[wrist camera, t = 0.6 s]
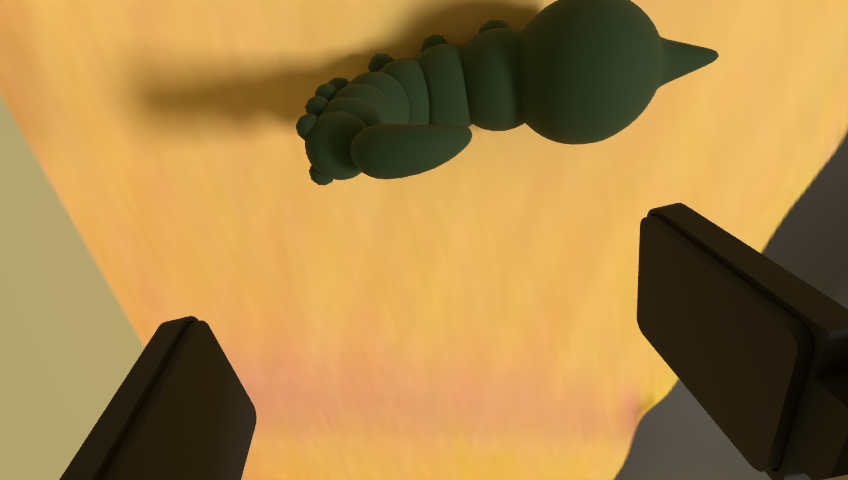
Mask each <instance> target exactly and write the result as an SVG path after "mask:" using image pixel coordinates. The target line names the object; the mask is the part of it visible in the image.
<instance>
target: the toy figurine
mask: <svg viewBox="0 0 848 480" xmlns="http://www.w3.org/2000/svg"><path fill="white" fill-rule="evenodd" d="M421 50H422V52H421V53H420V54H418V55H417V56H416V58H415V59H398V60H395V61H394V59H393V58H392V57H390V56H389V55H387V54H377V55H375V56H374V57H373V58H371V61H370V64H369V67H368V68H369V73H364V74H361V75H358V76H357V77H356V78H355V79H353V80H352V81H351V82H349V81H348V80H347V79H344V78H340V77H339V78H334V79H332V80H331V81H330V82H329V83H328V84H327V83H326V84H323V85H321V86H319V87H318V88H317V90H316V93H315V97H313V98H311V99H309V101H308V102H307V104H306V106H305V108H306V112H307V114H306V115H304V116H302V117H300V118H299V120H298V122H297V124H296V129H297V133H298V135H299V136H300V137H301V138H303V139H304V140H305V149H306V154H307V156H308V159H309V161H310V163H311V164H312V165H311V167H310V170H309V173H310V176H311V179H312V180H313V181H314V182H315V183H317V184H318V185H327V184H329V183H331V182H332V181H333V179H336V180H346V179H350V178H353V177H355V176H357V175H358V174H360V173H361V172H363V173H364V174H366V175H368V176H370V177H374V178H377V179H394V178H403V177H407V176H411V175H416V174H420V173H423V172H425V171H428V170H431V169H434V168H436V167H438V166H440V165H442V164H443V163H445V162H447V161H449V160H450V159H452V158H453V157H455V156H456V155H457V154H458V153H460V152H461V151H462V150H463V149H464V148H465V147H466V146H467V145H468V144H469V142H470V141H471V138H472V133H471V130H470V129H469V128H468V127H469V126H471V125H472V124H474V125H476V126H478V127H480V128H482V129H486V130H491V131H505V130H509V129H513V128H516V127H518V126H520V125H522V124H524V123H526V124H527V125H528V126H529V127H530V128H531V129H533V130H534V131H535V132H537V133H538V134H540V135H541V136H543V137H545V138H547V139H549V140H552V141H555V142H559V143H563V144H587V143H595V142H598V141H602V140H605V139H607V138H609V137H611V136H613V135H615V134H616V133H618V132H620V131H621V130H623V129H624V128H626V127H627V126H629V125H630V124H631V123H632V122H633V121H634V120H636V119H637V117H638V116H639V115H640V114H641V113H642V112H643V111H644V110H645V108H646V107H647V105H648V104H649V103H650V101H651V99H652V98H653V96H654V94H655V92H656V90H657V89H658V88H659V87H661V86H662V85H664V84H666V83H668V82H670V81H672V80H674V79H677V78H679V77H681V76H683V75H686V74H688V73H690V72H693V71H695V70H697V69H699V68H701V67H704V66H706V65H708V64H710V63H712V62H713V61H715V60H716V59H717V58H718V56H719V55H718V53H717V52H716V51H714V50H712V49H708V48H704V47H699V46H695V45H690V44H686V43H681V42H676V41H672V40H667V39H665V38H662V37H660V35H659V34H658V31H657V29H656V27H655V25H654V24H653V22H652V21H651V19H650V18H649V17H648V16H647V14H646V13H645V12H644V11H643V10H642V9H641V8H640V7H638V6H637V5H636V4H634V3H633V2H632V1H630V0H557V1H555V2H554V3H552V4H550V5H549V6H547V7H546V8H544V9H543V10H542V11H541V12H539V13H538V14H537V15H536V16H535V17H534V18H533V19H532V20H531V21H530V22H529V24H528V25H527V26H526V27H525V29H524V30H523V31H520V30H516V29H511V28H510V27H509V26H508V25H507V24H506V23H505V22H504V21H499V20H491V21H489V22H488V23H486V24H484V25H483V26H482V27H481V29H480V31H479V33H478V35H477V36H475V37H474V38H473V39H472V40H470V41H469V42H468V43H467V44H466V45H465V46H464V47H462V46H459V45H456V44H448V43H447V41H446V40H445V39H444V37H443V36H439V35H434V34H433V35H432V36H430V37H428V38H427V39H425V41H424V44H423V47H422V49H421Z"/></svg>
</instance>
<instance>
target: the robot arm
mask: <svg viewBox="0 0 848 480" xmlns="http://www.w3.org/2000/svg"><path fill="white" fill-rule="evenodd" d="M637 322H638V326H639V328H640V330H641V332H642V334H643V335H644V336H645V338H646V339H647V340H648V341H649V342H650V344H651V345H652V346H653V347H654V348H655V350H656V351H657V352H658V353H659V355H660V356H661V357H662V358H663V359H664V361H665V362H666V363H667V364H668V365H669V367H670V368H671V369H672V370H673V372H674V373H675V374H676V375H677V376H678V378H679V379H680V380H681V381H682V382H683V383H684V385H685V386H686V387H687V389H689V391H690V392H691V393H692V395H693V396H694V397H695V398H696V399H697V401H698V402H699V403H700V404H701V405H702V407H703V408H704V409H705V410H706V412H707V413H708V414H709V415H710V416H711V418H712V419H713V420H714V421H715V423H716V424H717V425H718V426H719V427H720V429H721V430H722V431H723V432H724V433H725V435H726V436H727V437H728V438H729V439H730V441H731V442H732V443H733V444H734V445H735V447H736V448H737V449H738V450H739V451H740V453H741V454H742V455H743V456H744V458H745V459H746V460H747V461H748V462H749V464H750V465H751V466H752V467H753V468H755V469H756V470H758V471H760V472H763V471H765V472H766V473H767V474H768V475H769V477H770V478H771V479H772V480H848V309H846V308H845V307H843V306H842V305H840V304H838V303H837V302H835V301H834V300H832V299H831V298H829V297H828V296H826V295H825V294H823V293H821V292H820V291H818V290H816V289H815V288H814V287H812V286H810V285H809V284H807V283H806V282H804V281H803V280H801V279H800V278H798V277H796V276H795V275H793V274H792V273H790V272H789V271H787V270H785V269H784V268H782V267H781V266H779V265H778V264H776V263H775V262H773V261H772V260H770V259H768V258H767V257H765V256H764V255H762V254H761V253H759V252H758V251H756V250H754V249H753V248H751V247H750V246H748V245H747V244H745V243H744V242H742V241H740V240H739V239H737V238H736V237H734V236H733V235H731V234H730V233H728V232H726V231H725V230H723V229H722V228H720V227H719V226H717V225H715V224H714V223H712V222H711V221H709V220H708V219H706V218H705V217H703V216H701V215H700V214H698V213H697V212H695V211H694V210H692V209H691V208H689V207H687V206H686V205H684V204H682V203H675V204H671V205H667V206H663V207H658V208H654V209H651V210H650V211H649V212H648V215H647V217H645V218H643V219H642V220H641V224H640V244H639V271H638V299H637ZM255 425H256V411H255V407H254V405H253V403H252V402H251V400H250V398H249V396H248V395H247V393H246V391H245V389H244V387H243V386H242V384H241V382H240V380H239V379H238V377H237V375H236V373H235V371H234V370H233V368H232V366H231V364H230V363H229V361H228V359H227V357H226V355H225V354H224V352H223V350H222V348H221V347H220V345H219V343H218V341H217V339H216V338H215V336H214V334H213V332H212V331H211V329H210V327H209V325H208V324H207V323H206V322H205V321H199V320H198V319H197V318H195V317H193V316H189V317H184V318H180V319H176V320H171V321H167V322H164V323H162V324H161V325H160V326H159V327H158V329H157V330H156V332H155V334H154V335H153V337H152V338H151V340H150V341H149V343H148V344H147V346H146V347H145V349H144V350H143V352H142V354H141V355H140V357H139V358H138V360H137V361H136V363H135V364H134V366H133V367H132V369H131V370H130V372H129V374H128V375H127V377H126V378H125V380H124V381H123V383H122V384H121V386H120V388H119V389H118V391H117V392H116V394H115V395H114V397H113V398H112V400H111V401H110V403H109V404H108V406H107V408H106V409H105V411H104V412H103V414H102V415H101V417H100V418H99V420H98V421H97V423H96V424H95V426H94V427H93V429H92V431H91V432H90V434H89V435H88V437H87V438H86V440H85V441H84V443H83V444H82V446H81V447H80V449H79V451H78V452H77V454H76V455H75V457H74V458H73V460H72V461H71V463H70V464H69V466H68V467H67V469H66V471H65V472H64V474H63V475H62V477H61V478H60V480H241V477H242V474H243V470H244V466H245V462H246V459H247V455H248V451H249V448H250V444H251V440H252V436H253V433H254V429H255Z"/></svg>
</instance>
